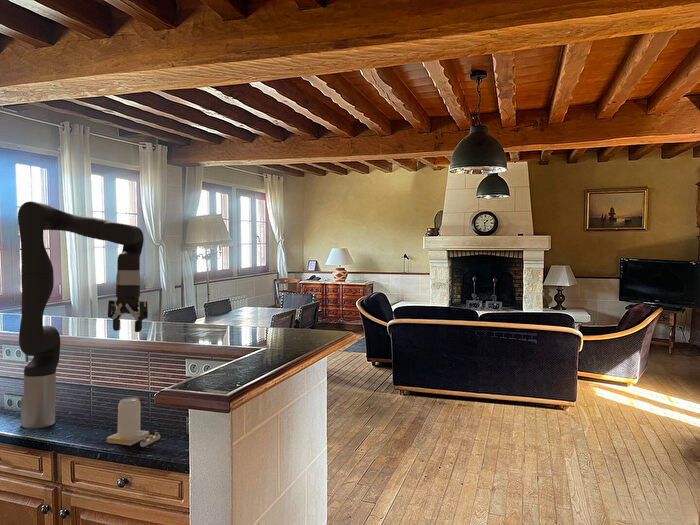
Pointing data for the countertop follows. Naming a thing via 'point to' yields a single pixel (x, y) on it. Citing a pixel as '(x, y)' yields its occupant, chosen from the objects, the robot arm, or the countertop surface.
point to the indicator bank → (150, 439)
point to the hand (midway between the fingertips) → (127, 331)
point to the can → (129, 418)
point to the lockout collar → (117, 440)
